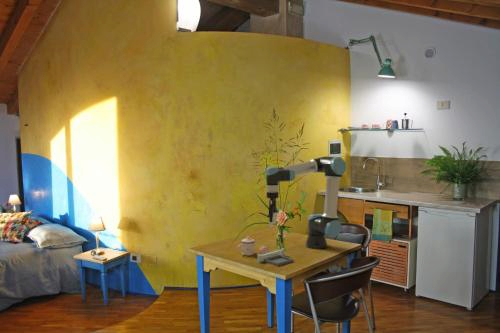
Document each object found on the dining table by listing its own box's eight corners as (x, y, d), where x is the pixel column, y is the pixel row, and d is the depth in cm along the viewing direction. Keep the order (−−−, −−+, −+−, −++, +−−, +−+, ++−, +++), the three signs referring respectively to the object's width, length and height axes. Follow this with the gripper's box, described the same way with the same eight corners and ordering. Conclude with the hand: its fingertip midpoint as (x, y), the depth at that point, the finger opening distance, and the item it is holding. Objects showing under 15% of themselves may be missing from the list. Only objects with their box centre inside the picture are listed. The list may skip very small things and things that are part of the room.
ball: (264, 253, 274) (264, 244, 273) (270, 255, 269) (270, 246, 268) (257, 255, 269) (257, 246, 269) (263, 257, 265) (263, 248, 264)
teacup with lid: (251, 251, 280) (250, 234, 279) (257, 254, 272) (257, 237, 271) (235, 253, 275) (235, 236, 274) (241, 257, 267) (241, 239, 266)
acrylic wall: (282, 255, 271) (282, 248, 270) (284, 255, 269) (284, 248, 269) (257, 262, 256) (257, 254, 255) (259, 262, 254) (259, 255, 254)
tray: (279, 257, 265) (279, 254, 265) (293, 261, 256) (293, 259, 256) (264, 261, 256) (264, 259, 256) (277, 266, 247) (277, 263, 247)
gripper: (269, 189, 269) (269, 220, 271) (263, 194, 245) (263, 229, 246) (280, 189, 268) (280, 221, 269) (276, 194, 243) (276, 229, 245)
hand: (272, 224), depth 258 cm, fingers open, 13 cm apart
